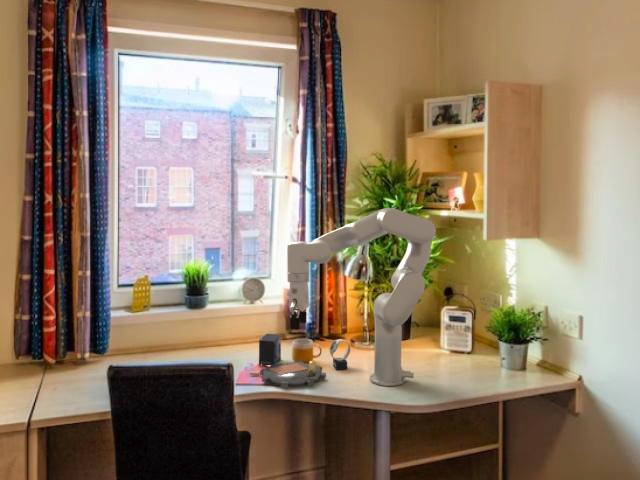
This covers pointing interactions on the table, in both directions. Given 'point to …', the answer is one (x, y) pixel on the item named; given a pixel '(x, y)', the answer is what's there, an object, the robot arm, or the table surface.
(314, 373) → the sprocket
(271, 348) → the small box
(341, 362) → the watch
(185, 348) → the table surface
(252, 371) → the stand
